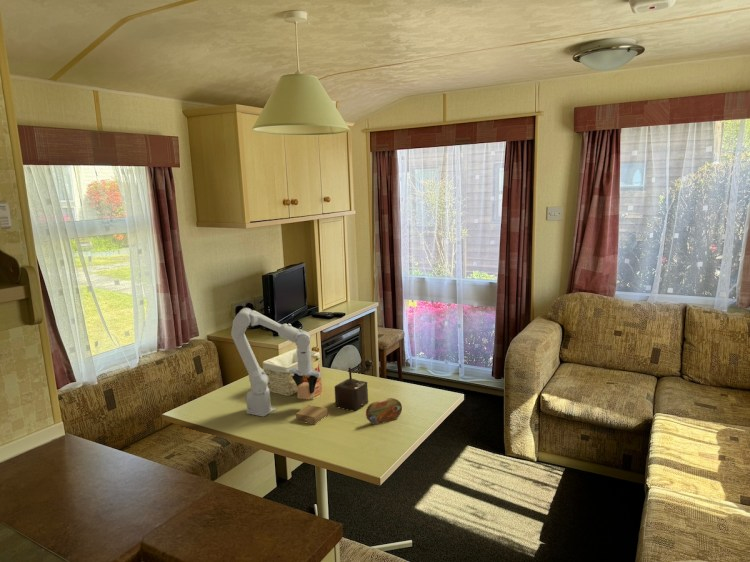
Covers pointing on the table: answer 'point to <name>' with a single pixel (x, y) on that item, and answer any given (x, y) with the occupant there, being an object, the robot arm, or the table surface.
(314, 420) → the brown flat square block
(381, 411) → the tin
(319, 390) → the milk carton
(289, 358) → the storage basket
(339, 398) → the dark brown boxy piece
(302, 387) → the terracotta cube
